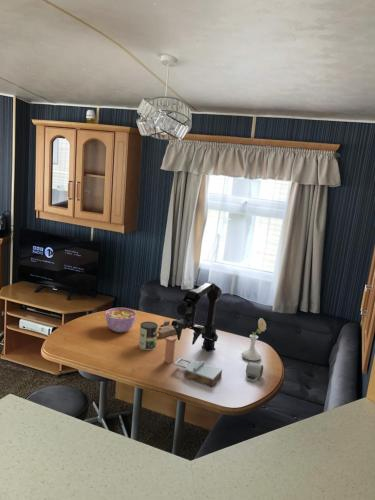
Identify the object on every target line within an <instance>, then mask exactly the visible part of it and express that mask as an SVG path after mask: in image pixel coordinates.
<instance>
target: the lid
mask: <svg viewBox="0 0 375 500" xmlns="http://www.w3.org/2000/svg"><path fill="white" fill-rule="evenodd" d="M182 361H183V362H186V363H188V364H186V365H184V364H182V363H180V362H182ZM173 365H175V366H177V367H180V368H183V369H184V372H185V371H188V372H191V373H194V374H197V375H199V376H202V377H205V378H208V379H211V380H214V379H215V378H216V377H217V375H218V374H219V373H220V372H221V371H222V372H223V369H222V368H218V367H216V366H213V365H210V364H207V363H205V361H204V360H201V361H198V360H196V359H195V360H189V359H188V358H183V357H179V358H178V359H177V360H176V361H175V362H174V363H173Z"/></svg>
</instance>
